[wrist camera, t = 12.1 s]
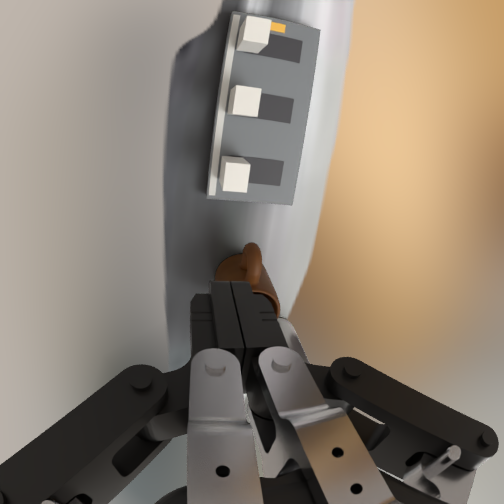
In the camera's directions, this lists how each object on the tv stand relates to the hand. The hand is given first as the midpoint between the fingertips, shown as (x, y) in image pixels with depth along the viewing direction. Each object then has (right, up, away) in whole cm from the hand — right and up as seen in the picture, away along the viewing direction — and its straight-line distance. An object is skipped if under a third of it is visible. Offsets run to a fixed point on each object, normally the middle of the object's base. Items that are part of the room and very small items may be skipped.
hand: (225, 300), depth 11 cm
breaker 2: (0, +19, +18) cm, 26 cm away
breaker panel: (+2, +20, +21) cm, 29 cm away
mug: (-1, +1, +31) cm, 31 cm away
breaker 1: (+1, +26, +15) cm, 30 cm away
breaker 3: (-1, +12, +22) cm, 25 cm away
